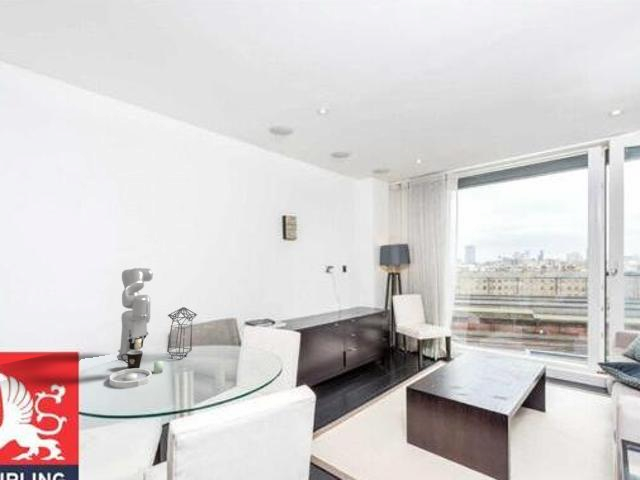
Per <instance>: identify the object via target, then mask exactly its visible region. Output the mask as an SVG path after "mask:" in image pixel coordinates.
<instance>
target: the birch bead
mask: <svg viewBox="0 0 640 480" xmlns="http://www.w3.org/2000/svg"><path fill="white" fill-rule="evenodd" d="M141 341H142V338H139V337H137V338H135V340H134V343H135V344H134V350H141V349H142V348H141Z"/></svg>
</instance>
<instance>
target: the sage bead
mask: <svg viewBox="0 0 640 480" xmlns="http://www.w3.org/2000/svg"><path fill="white" fill-rule="evenodd" d="M163 368H164V361H162V360H157V361H154V363H153V374H156V375H158V374H159V375H160V374H162V373H163V370H164V369H163Z"/></svg>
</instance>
